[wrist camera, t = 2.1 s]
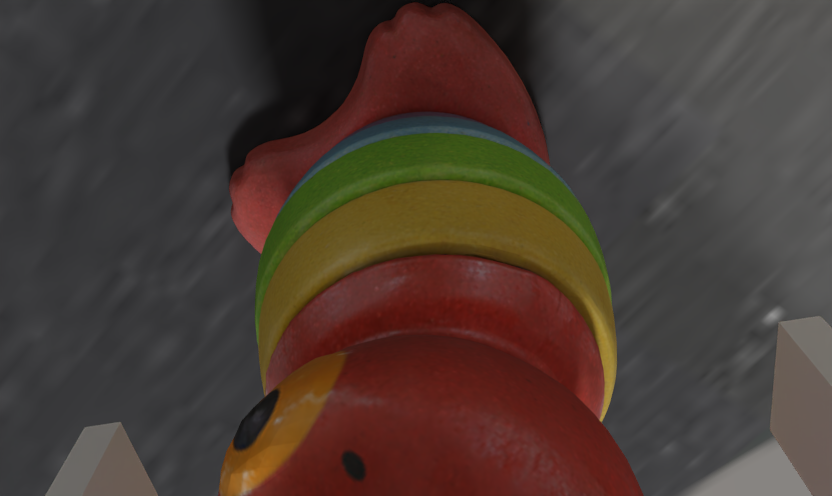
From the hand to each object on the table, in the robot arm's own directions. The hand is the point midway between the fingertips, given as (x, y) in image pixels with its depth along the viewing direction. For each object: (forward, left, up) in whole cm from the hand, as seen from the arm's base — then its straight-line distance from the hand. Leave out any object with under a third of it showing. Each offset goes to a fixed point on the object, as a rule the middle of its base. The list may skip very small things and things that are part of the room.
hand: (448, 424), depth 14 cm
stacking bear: (0, 0, -12) cm, 12 cm away
